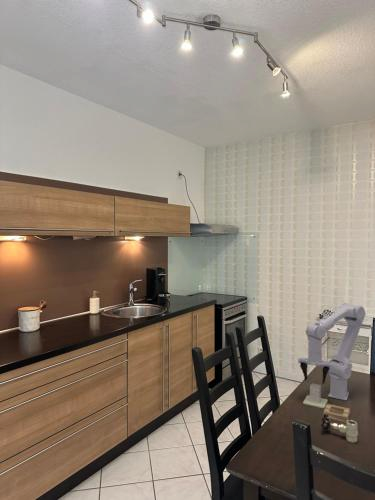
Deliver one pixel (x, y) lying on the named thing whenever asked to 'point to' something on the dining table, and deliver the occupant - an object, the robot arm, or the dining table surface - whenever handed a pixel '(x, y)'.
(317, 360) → the robot arm
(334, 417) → the socket block
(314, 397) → the steel peg
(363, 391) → the dining table surface
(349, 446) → the dining table surface
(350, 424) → the valve
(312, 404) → the sage pad
